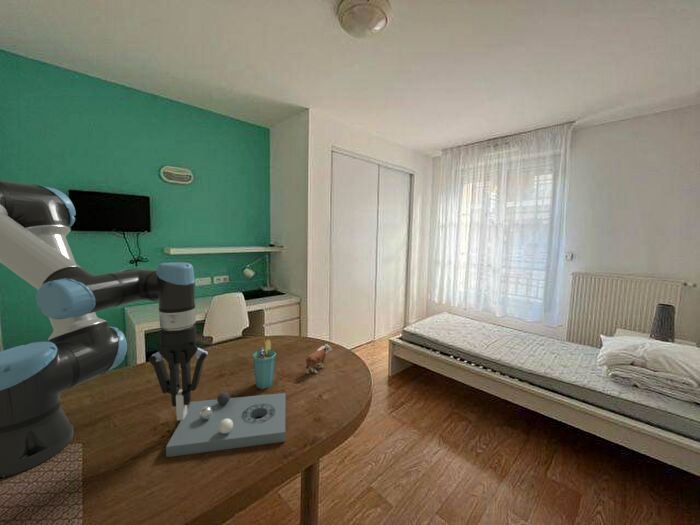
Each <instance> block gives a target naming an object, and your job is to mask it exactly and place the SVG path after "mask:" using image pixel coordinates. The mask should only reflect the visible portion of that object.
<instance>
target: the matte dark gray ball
mask: <svg viewBox="0 0 700 525" xmlns="http://www.w3.org/2000/svg"><path fill="white" fill-rule="evenodd" d="M230 398H231V397H230V394H229V392H226V391H223V392H220V393H219V394H218V395H217V398H216V399H217V401H218V403H219V404H221V405H224V404H226V403H227V402H228V401H229V399H230Z"/></svg>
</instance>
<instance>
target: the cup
mask: <svg viewBox="0 0 700 525" xmlns="http://www.w3.org/2000/svg"><path fill="white" fill-rule="evenodd" d="M271 349H272V342H271V339H266V340H265V342H264V344H263V347H261V348H260V350H257V351H255V352H254V353H253V354H252V355H251V356H252V357H251V358H252V359H253V367H254V369H253V370H254V378H255V386H256V388H257V389H261V390H265V389H268V388H271V387H272V385H273V383H274V372H275V362H276V357H277V353H276V352H275V350H273V349H272V350H271Z"/></svg>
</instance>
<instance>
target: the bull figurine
mask: <svg viewBox="0 0 700 525" xmlns="http://www.w3.org/2000/svg"><path fill="white" fill-rule="evenodd" d="M332 351H333V349H332V347H331V346H330V345H328V343H325V344H322V346H320V347H319V348H318V349H316V350H315V351H314V352H312V353H311V354H309V355H308V356H307V357H306V359H305V363H306V367H305V370H306V371H305V373H306V374H307V375H308V374H310V372H309V368H310V370H311V372H312V373H313V372H314V374H318V373H319V372H318V371H317V369H316V366H317V365H318V366H320V368H321V369H324V368H323V367H324V362H325V360H326V357H327V356H326V355H327V354H328V353H329V352H332Z"/></svg>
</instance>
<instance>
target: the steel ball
mask: <svg viewBox="0 0 700 525" xmlns="http://www.w3.org/2000/svg"><path fill="white" fill-rule="evenodd" d="M212 414H213V410H212V408H211V407H209V406H205V407H203V408H202V409H201V410H200V412H199V418H200V419H201V420H207V419H209V418H210V417H211V416H212Z"/></svg>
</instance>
